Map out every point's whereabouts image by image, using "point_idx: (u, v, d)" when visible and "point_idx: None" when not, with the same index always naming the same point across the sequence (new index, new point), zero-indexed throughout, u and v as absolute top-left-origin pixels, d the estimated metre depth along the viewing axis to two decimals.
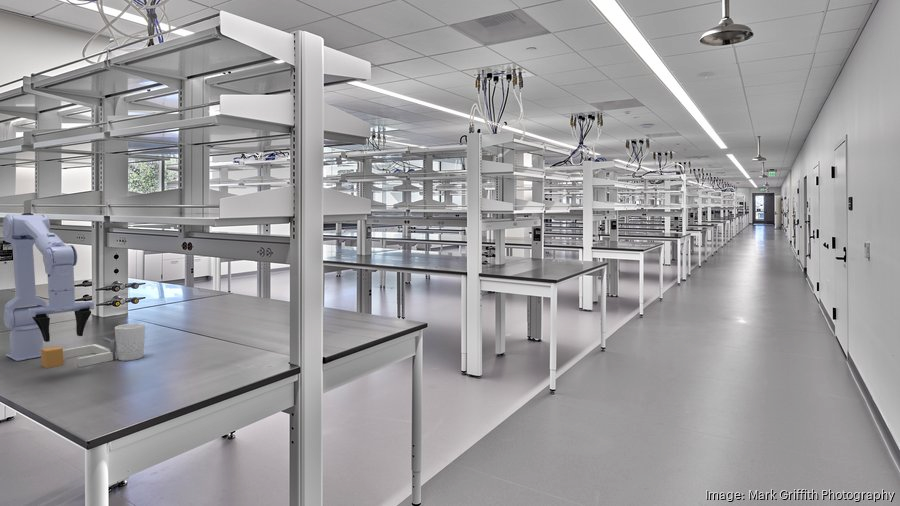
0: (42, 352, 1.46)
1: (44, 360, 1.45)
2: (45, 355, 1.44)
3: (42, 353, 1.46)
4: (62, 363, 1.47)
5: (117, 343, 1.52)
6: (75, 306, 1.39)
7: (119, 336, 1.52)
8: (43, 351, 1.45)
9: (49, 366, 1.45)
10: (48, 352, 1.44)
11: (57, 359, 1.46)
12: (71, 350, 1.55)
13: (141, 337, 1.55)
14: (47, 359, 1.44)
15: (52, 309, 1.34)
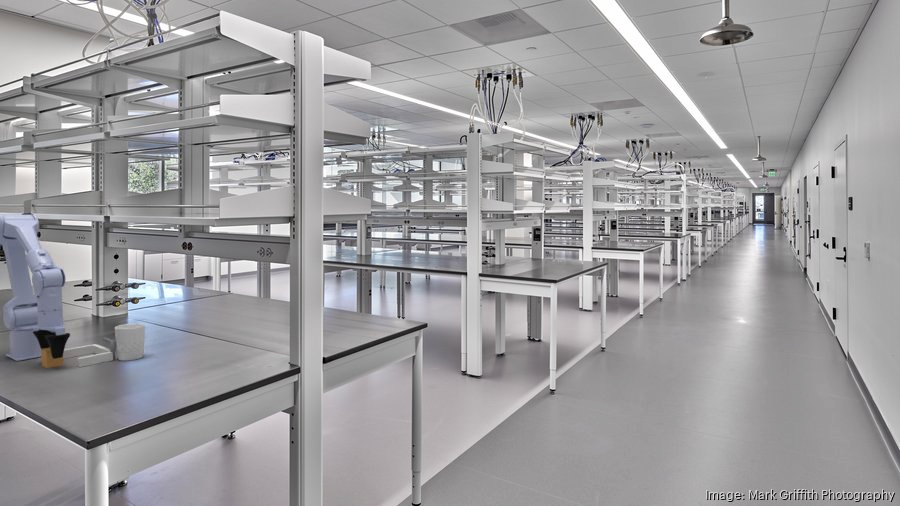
0: (42, 352, 1.46)
1: (44, 360, 1.45)
2: (45, 355, 1.44)
3: (42, 353, 1.46)
4: (62, 363, 1.47)
5: (117, 343, 1.52)
6: (43, 328, 1.43)
7: (119, 336, 1.52)
8: (43, 351, 1.45)
9: (49, 366, 1.45)
10: (48, 352, 1.44)
11: (57, 359, 1.46)
12: (71, 350, 1.55)
13: (141, 337, 1.55)
14: (47, 359, 1.44)
15: None
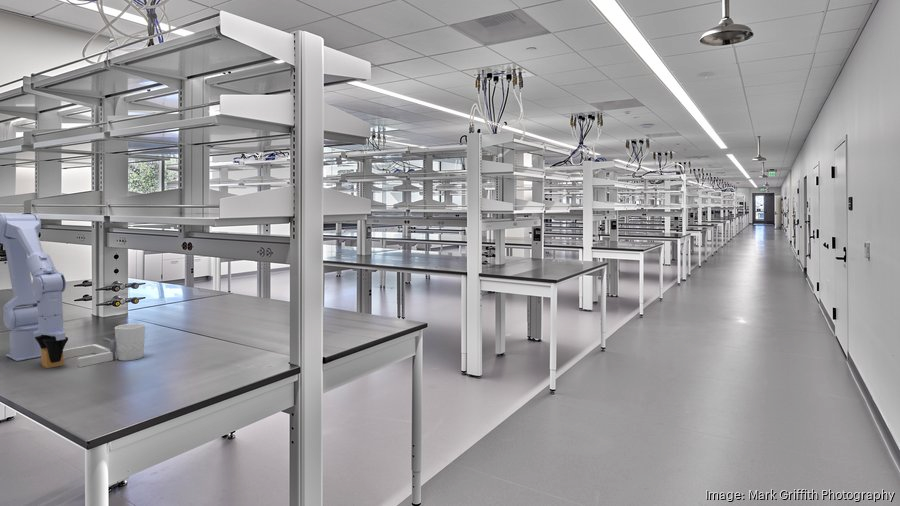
0: (42, 352, 1.46)
1: (44, 360, 1.45)
2: (45, 355, 1.44)
3: (42, 353, 1.46)
4: (62, 363, 1.47)
5: (117, 343, 1.52)
6: (44, 333, 1.43)
7: (119, 336, 1.52)
8: (43, 351, 1.45)
9: (49, 366, 1.45)
10: None
11: None
12: (71, 350, 1.55)
13: (141, 337, 1.55)
14: (47, 359, 1.44)
15: None
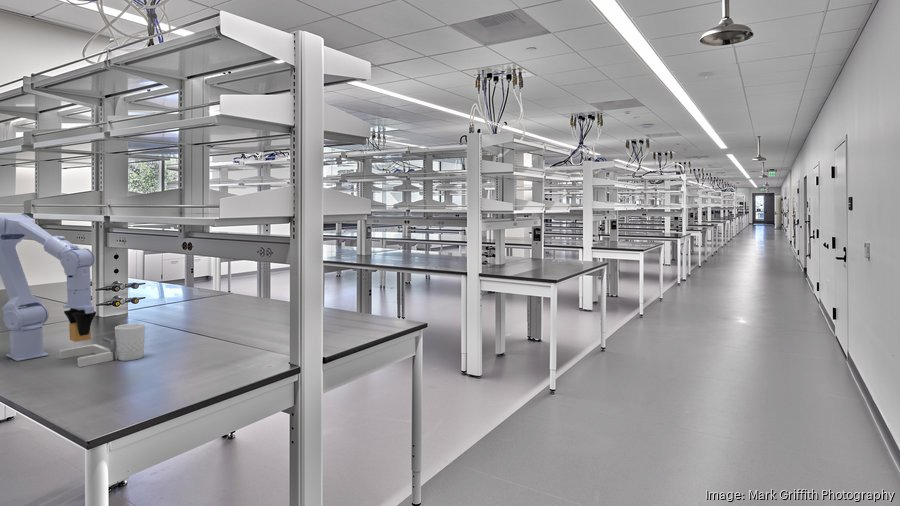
0: (70, 326, 1.50)
1: (72, 334, 1.50)
2: (73, 329, 1.49)
3: (70, 327, 1.50)
4: (89, 337, 1.52)
5: (117, 343, 1.52)
6: (73, 306, 1.48)
7: (119, 336, 1.52)
8: (71, 325, 1.50)
9: (77, 340, 1.49)
10: (76, 326, 1.49)
11: None
12: (71, 350, 1.55)
13: (141, 337, 1.55)
14: (76, 333, 1.49)
15: (67, 305, 1.51)
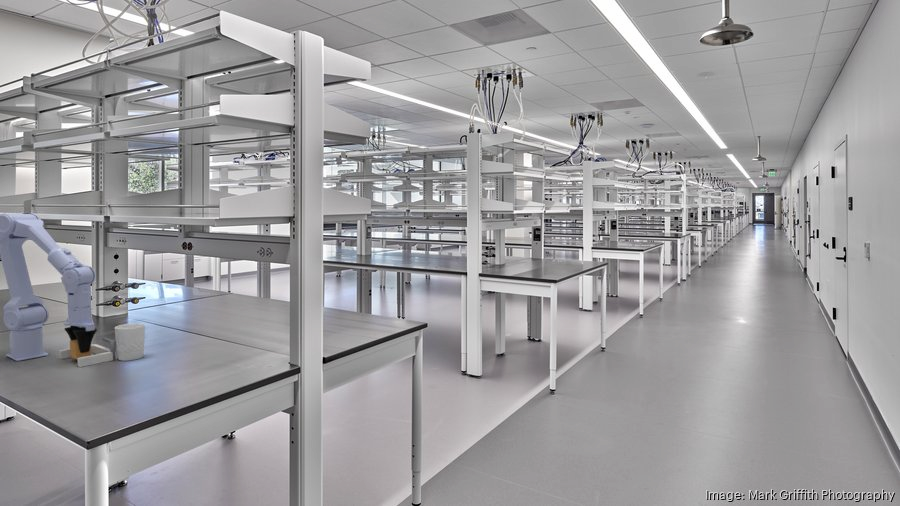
0: (71, 343, 1.51)
1: (73, 351, 1.50)
2: (74, 346, 1.49)
3: (71, 344, 1.51)
4: (90, 354, 1.52)
5: (117, 343, 1.52)
6: (74, 324, 1.48)
7: (119, 336, 1.52)
8: (72, 342, 1.50)
9: (78, 357, 1.50)
10: (77, 343, 1.49)
11: None
12: None
13: (141, 337, 1.55)
14: (76, 350, 1.49)
15: (67, 322, 1.51)
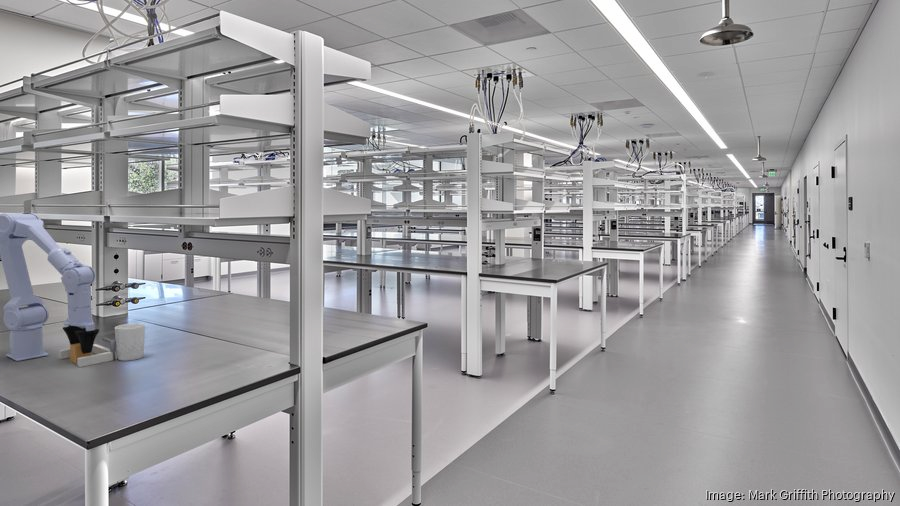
0: (71, 347, 1.51)
1: (73, 355, 1.50)
2: (74, 350, 1.50)
3: (71, 349, 1.51)
4: None
5: (117, 343, 1.52)
6: (74, 324, 1.48)
7: (119, 336, 1.52)
8: (72, 347, 1.50)
9: None
10: (77, 347, 1.49)
11: (85, 355, 1.51)
12: None
13: (141, 337, 1.55)
14: (76, 355, 1.49)
15: (67, 322, 1.51)
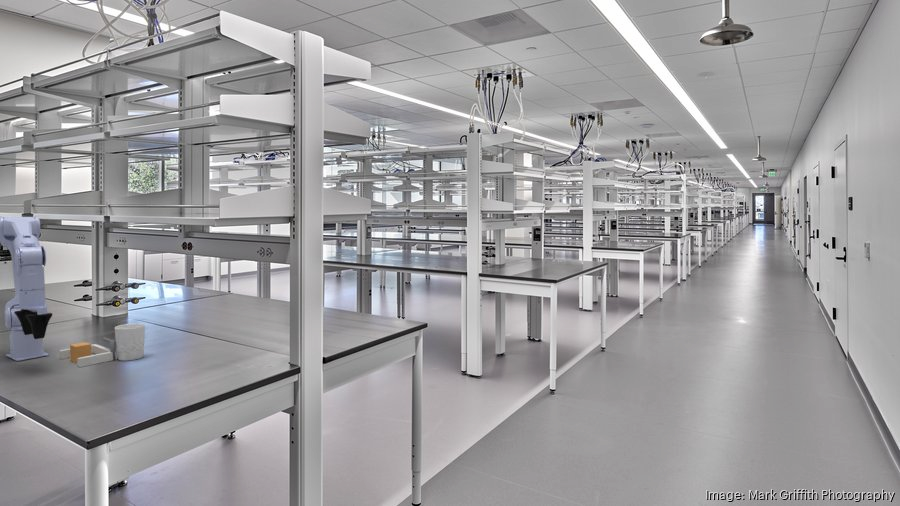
0: (71, 347, 1.51)
1: (73, 355, 1.50)
2: (74, 350, 1.50)
3: (71, 349, 1.51)
4: None
5: (117, 343, 1.52)
6: (25, 307, 1.39)
7: (119, 336, 1.52)
8: (72, 347, 1.50)
9: None
10: (77, 347, 1.49)
11: (85, 355, 1.51)
12: None
13: (141, 337, 1.55)
14: (76, 355, 1.49)
15: None
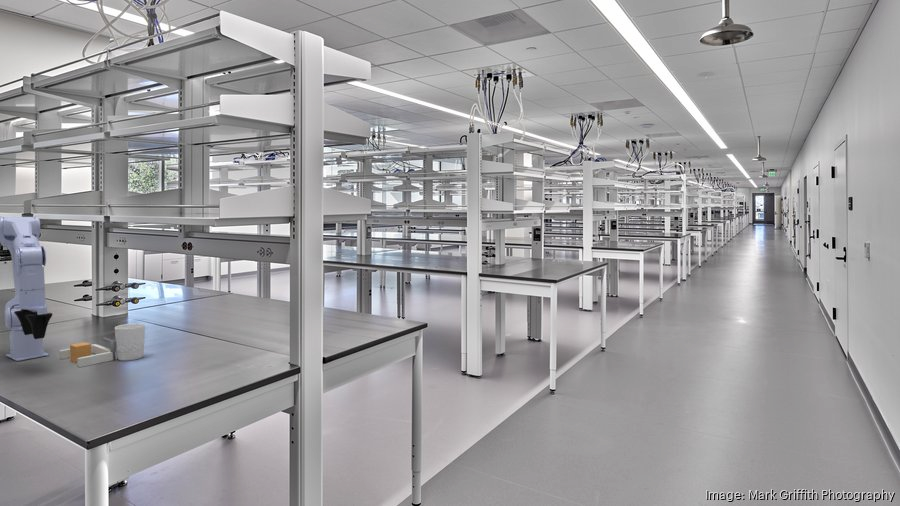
0: (71, 347, 1.51)
1: (73, 355, 1.50)
2: (74, 350, 1.50)
3: (71, 349, 1.51)
4: None
5: (117, 343, 1.52)
6: (25, 307, 1.39)
7: (119, 336, 1.52)
8: (72, 347, 1.50)
9: None
10: (77, 347, 1.49)
11: (85, 355, 1.51)
12: None
13: (141, 337, 1.55)
14: (76, 355, 1.49)
15: None
